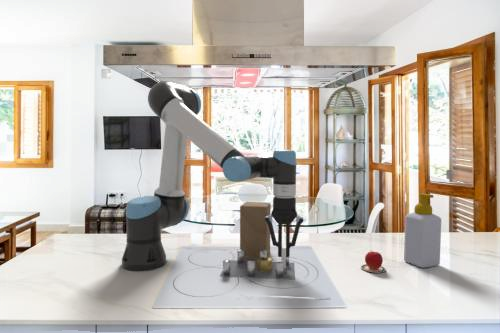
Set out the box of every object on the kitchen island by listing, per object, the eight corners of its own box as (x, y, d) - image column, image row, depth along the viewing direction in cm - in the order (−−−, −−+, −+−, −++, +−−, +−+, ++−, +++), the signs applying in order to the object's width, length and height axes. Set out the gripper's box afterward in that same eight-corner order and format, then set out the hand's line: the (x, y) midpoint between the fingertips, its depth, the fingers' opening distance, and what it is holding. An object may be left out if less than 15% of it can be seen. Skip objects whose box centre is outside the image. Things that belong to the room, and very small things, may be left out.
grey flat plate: (219, 277, 113) (219, 276, 113) (227, 261, 129) (227, 260, 129) (295, 280, 111) (295, 279, 111) (294, 263, 127) (294, 262, 127)
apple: (356, 267, 124) (356, 248, 123) (374, 264, 127) (375, 246, 126) (371, 275, 116) (371, 255, 116) (390, 272, 119) (391, 253, 119)
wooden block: (266, 261, 130) (266, 206, 128) (239, 259, 132) (239, 205, 130) (270, 252, 139) (270, 202, 138) (245, 251, 141) (245, 201, 140)
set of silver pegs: (222, 275, 114) (222, 261, 114) (229, 260, 128) (229, 248, 128) (289, 278, 112) (289, 264, 112) (289, 263, 126) (289, 250, 126)
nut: (256, 271, 118) (256, 260, 118) (257, 266, 122) (258, 256, 122) (272, 271, 117) (272, 261, 117) (272, 267, 122) (272, 257, 121)
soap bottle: (422, 269, 121) (424, 196, 120) (402, 261, 130) (404, 192, 128) (441, 265, 125) (444, 195, 123) (420, 258, 133) (422, 191, 132)
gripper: (264, 197, 115) (263, 269, 116) (304, 198, 113) (303, 271, 115) (265, 194, 122) (264, 261, 123) (303, 195, 121) (302, 263, 122)
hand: (283, 266), depth 119 cm, fingers closed
